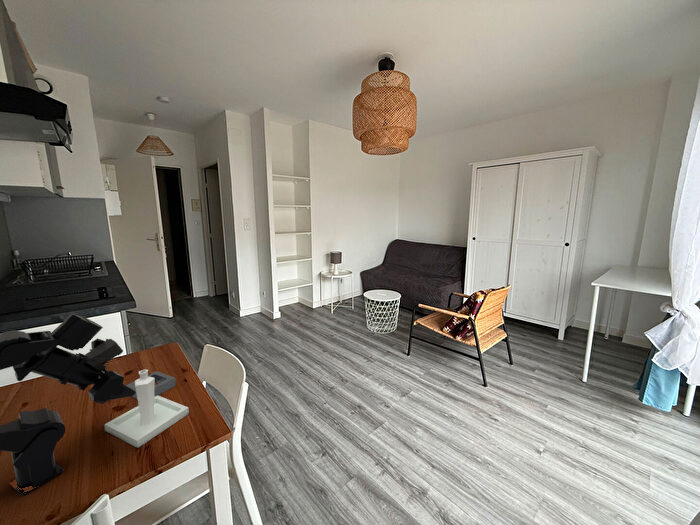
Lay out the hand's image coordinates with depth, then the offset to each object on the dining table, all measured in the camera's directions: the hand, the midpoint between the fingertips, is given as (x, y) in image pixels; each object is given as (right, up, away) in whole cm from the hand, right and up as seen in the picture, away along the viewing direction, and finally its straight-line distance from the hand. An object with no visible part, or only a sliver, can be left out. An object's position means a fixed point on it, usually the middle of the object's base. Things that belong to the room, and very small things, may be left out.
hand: (126, 387), depth 73 cm
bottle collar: (-8, -10, +20) cm, 24 cm away
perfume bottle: (+2, -12, +5) cm, 13 cm away
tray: (+2, -12, +5) cm, 13 cm away
